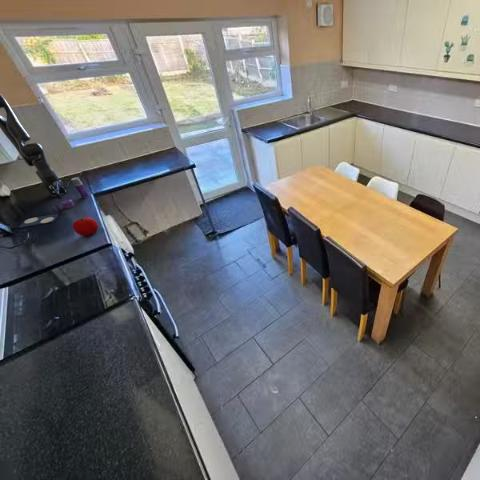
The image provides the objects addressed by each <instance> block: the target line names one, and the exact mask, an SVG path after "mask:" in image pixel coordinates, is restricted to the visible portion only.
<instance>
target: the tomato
mask: <svg viewBox="0 0 480 480" xmlns="http://www.w3.org/2000/svg"><path fill="white" fill-rule="evenodd" d="M72 229H73V231H74V232H75V233H76V234H77V235H79V236H82V237H90V236H92V235H94V234H95V233H97V232H98V229H99V224H98V221H97V220H95V219H93V218H92V217H89V216H86V217H84V216H82V217H80V218H79V219H75V220H74V221H73V222H72Z"/></svg>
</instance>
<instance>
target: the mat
mask: <svg viewBox="0 0 480 480" xmlns="http://www.w3.org/2000/svg"><path fill="white" fill-rule="evenodd" d="M59 215H60V213H53V214H48V215H42V216H37V217H36V216H35V217H31V218H25V219H24V220H23V221H22V223H21V224H20V225H19V226H18V227H17V229H22V228H27V227H28V228H29V227H33V226H37V225H43V224H50V223H54V222H55V221H56V219H57V218H58V217H59Z"/></svg>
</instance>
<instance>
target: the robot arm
mask: <svg viewBox="0 0 480 480" xmlns="http://www.w3.org/2000/svg"><path fill="white" fill-rule="evenodd" d="M0 109H4V112H5V113H6V117H4V116H3V115H1V114H0V130H1V132H2V133H3V134H4V136H5V137H6V139H8V140H9V142H10V143H11V144H12V145H13V147H14V148H15V149H16V151H17V152H18V154H19V155H20V156H21V159H22V160H23V162H24V163H25V164H26V165H27V166H28V167H34V168H35V169H36V170H35V174H36V176H37V177H38V179H39V180H40V181H41V183H42V184H43V186H44V187H45V188H46V190H47V191H48V193H49V194H50V196H51V198H52V197H53V198H57V199H58V200H62V199H63V197H62V196H63V195H66V194H67V190H66V189H65V188H68V187H69V185H70V183H73V182H72V180H70V181H69V182H67V184H66V185H64V183H63V182H62V181H61V179H60V177H59V176H58V175H57V173H56V172H55V170H54V169H53V167H52V166H51V164H49V162H48V160H47V158H46V155H45V150H44V148H43V145H41V144H40V143H37V142H32V143H29V144H28V143H26V142H29V141H30V140H31V136H30V135H29V134H28V132H27V131H26V130H25V128H24V127H23V125H22V124H21V122H20V120H19V119H18V117H17V115H16V114H15V112H14V110H13V109H12V107H11V105H10V104H9V103H8V101H7V100H6V98H5V97H4V96H3V94H2V93H0ZM82 174H83V172H80V173H79V175H78V176H77V177H78V178H79V179H80V177H81V176H82Z"/></svg>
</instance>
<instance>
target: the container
mask: <svg viewBox="0 0 480 480" xmlns="http://www.w3.org/2000/svg"><path fill="white" fill-rule="evenodd" d="M70 181H72V182H71V183H72V184H73V186H74V187H75V189H76V191H77V192H78V194H79V195H80V197H81V198H82V199H87V198H89V197H90V194H89V192H88V190H87V189H86V188H85V185H84V184H83V182H82V181H81V179H80V177H79V178H78V176H77V177H72V178H71V180H70Z"/></svg>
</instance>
